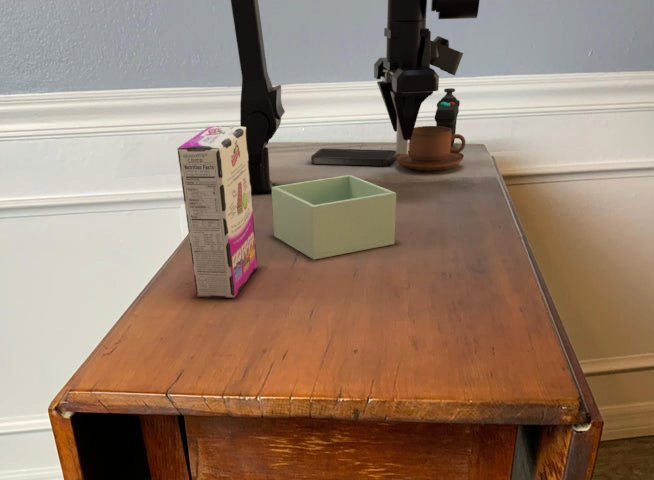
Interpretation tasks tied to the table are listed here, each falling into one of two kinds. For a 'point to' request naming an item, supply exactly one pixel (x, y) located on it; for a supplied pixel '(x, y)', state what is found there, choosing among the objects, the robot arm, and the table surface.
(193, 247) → the candy bar box
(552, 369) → the table surface
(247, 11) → the robot arm
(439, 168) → the cup and saucer
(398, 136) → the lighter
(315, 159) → the phone
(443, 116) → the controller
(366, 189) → the open square storage bin
